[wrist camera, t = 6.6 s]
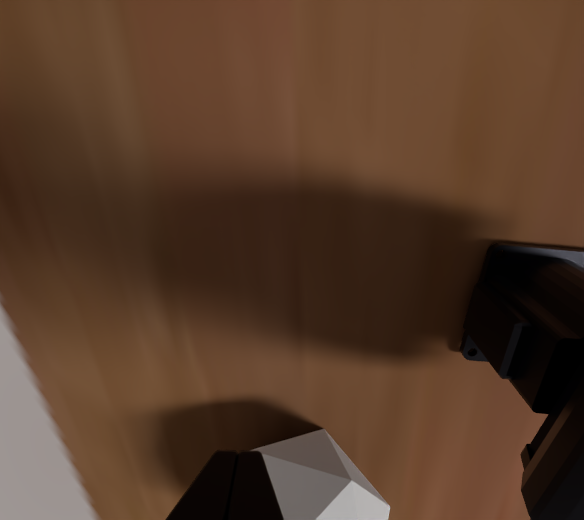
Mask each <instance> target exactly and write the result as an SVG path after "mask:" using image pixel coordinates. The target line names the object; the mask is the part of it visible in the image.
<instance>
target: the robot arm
mask: <svg viewBox="0 0 584 520" xmlns="http://www.w3.org/2000/svg"><path fill="white" fill-rule="evenodd" d="M500 250H503V253H502V255H501V256H499V257H496V254H497V252H498V251H500ZM463 328H464V329H465V332H464V336H463V339H462V343H461V346H460V351H461V353H462V355H463V356H464V358H466V359H467V360H473V361H485V362H489V363H490V364H491V365H492V367H493V368H494V369H495V371H496V372H497V373H498V375H499V376H500V377H501V378H502V379H509V381H510V382H511V383H512V385H513V386H514V387H515V388H516V390H517V391H518V392H519V394H520V395H521V396H522V398H523V399H524V400H525V401H526V403H527V404H528V405H529V407H530V408H531V409H532V410H533V412H535V413H542V414H549V415H548V416H547V418H546V419H545V421H544V423H543V424H542V426H541V428H540V429H539V431H538V432H537V434H536V436H535V437H534V439H533V440H532V442H531V444H526V446H525V448H524V449H523V451H522V452H521V459H522V463H523V467H524V472H523V476H522V485H521V492H522V495H523V498H524V501H525V504H526V507H527V511H528V514H529V516H530V518H531V519H530V520H584V250H582V249H570V248H559V247H547V246H536V245H524V244H513V243H501V242H500V243H495V244H493V245H491V246H490V247H489V249H488V251H487V254H486V258H485V262H484V265H483V269H482V272H481V276H480V279H479V282H478V283H477V284H476V285H475V286H474V290H473V293H472V297H471V300H470V304H469V308H468V311H467V315H466V318H465V322H464V325H463ZM471 348H474V350H473V351H471V352H468V351H469V350H470V349H471ZM166 520H284V518H283V515H282V512H281V509H280V506H279V503H278V500H277V497H276V494H275V491H274V488H273V485H272V482H271V479H270V476H269V473H268V470H267V467H266V464H265V462H264V459H263V456H262V453H261V452H260V451H247V450H243V451H240V452H239V454H238V452H237V451H235V450H217V451H216V452H215V453H214V454H213V455H212V456H211V458H210V459H209V460H208V462H207V463H206V465H205V466H204V467H203V469H202V470H201V471H200V473H199V474H198V476H197V477H196V478H195V480H194V481H193V482H192V484H191V485H190V487H189V488H188V489H187V491H186V492H185V493H184V495H183V496H182V498H181V499H180V500H179V502H178V503H177V504H176V506H175V507H174V509H173V510H172V511H171V513H170V514H169V515H168V517H167V518H166Z"/></svg>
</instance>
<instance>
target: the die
mask: <svg viewBox="0 0 584 520" xmlns="http://www.w3.org/2000/svg"><path fill="white" fill-rule="evenodd" d="M250 451H260V452H261V453H262V456H263V459H264V462H265V464H266V467H267V470H268V473H269V476H270V479H271V482H272V485H273V488H274V491H275V494H276V497H277V500H278V503H279V506H280V509H281V512H282V515H283V518H284V520H388V517H389V511H390V506H389V505H388V504H387V502H386V501H385V500H384V499H383V498H382V496H381V495H380V494H379V493H378V492H377V491H376V489H375V488H374V487H373V486H372V485H371V483H370V482H369V481H368V480H367V479H366V478H365V476H364V475H363V474H362V473H361V472H360V470H359V469H358V468H357V467H356V466H355V465H354V463H353V462H352V461H351V460H350V459H349V457H348V456H347V455H346V454H345V453H344V452H343V450H342V449H341V448H340V447H339V446H338V444H337V443H336V442H335V441H334V440H333V439H332V437H331V436H330V435H329V434H328V433H327V431H326V430H325V429H321V430H318V431H314V432H311V433H307V434H304V435H301V436H297V437H294V438H290V439H287V440H283V441H280V442H276V443H273V444H270V445H266V446H263V447H259V448H256V449H252V450H250Z"/></svg>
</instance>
